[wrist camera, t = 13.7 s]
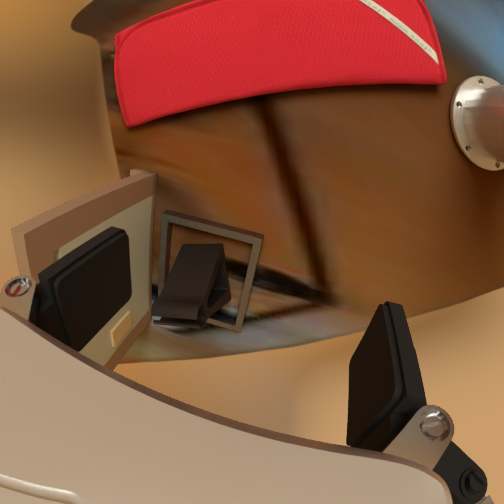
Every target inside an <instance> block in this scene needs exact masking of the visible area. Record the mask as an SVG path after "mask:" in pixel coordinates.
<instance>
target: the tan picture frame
mask: <svg viewBox="0 0 504 504" xmlns="http://www.w3.org/2000/svg"><path fill="white" fill-rule="evenodd" d="M157 178H158V173H156V172H150V171H145V170H140V169H131V170H130V176H129V177H127V178H124V179H121V180H119V181H116V182H114V183H111V184H108V185H106V186H103V187H101V188H98V189H96V190H94V191H91V192H89V193H86V194H84V195H81V196H79V197H77V198H75V199H72V200H70V201H68V202H65V203H63V204H61V205H59V206H56V207H55V208H52V209H50V210H48V211H46V212H44V213H42V214H40V215H38V216H36V217H34V218H32V219H30V220H28V221H26V222H24V223H22V224H20V225H18V226H16V227H14V228H12V229H11V231H12V236H13V243H14V248H15V254H16V259H17V264H18V268H19V273H20V276H22V275H27V276H31V277H32V278H34V279H35V281H36V285H37V284H38V283H39V278H38V273H40V272H41V271H43V270H44V269H46V268H47V267H48V266H50V265H51V264H53V263H54V262H56V261H57V260H59V259H60V258H62V257H63V256H65V255H66V254H68V253H69V252H71V251H72V250H74V249H75V248H77V247H78V246H80V245H81V244H83V243H85V242H86V241H88V240H89V239H91V238H93V237H94V236H96V235H97V234H99V233H101V232H102V231H104V230H106V229H107V228H109V227H111V226H113V227H117V228H120V229H124V230H125V231H126V234H127V235H128V236H129V250H130V269H131V283H132V296H131V298H130V300H129V301H128V302H127V303H126V304H125V305H124V306H123V307H122V308H121V309H120V310H119V311H118V312H117V313H116V314H115V315H114V316H113V317H112V318H111V319H110V321H109V322H108V323H107V324H106V325H105V326H104V327H103V328H102V329H101V330H100V331H99V332H98V333H97V334H96V335H95V336H94V337H93V338H92V340H91V341H90V342H89V343H88V344H87V345H86V346H85V347H84V348H83V349H82V350H81V351H80V352H79V353H80V354H82V355H84V356H86V357H88V358H89V359H91V360H93V361H95V362H97V363H98V364H100V365H102V366H104V367H106V368H108V369H110V370H112V371H113V370H114V368H115V367H116V366H117V364H118V363H119V362H120V360H121V359H122V358H123V356H124V355H125V354H126V352H127V351H128V350H129V348H130V347H131V346H132V344H133V343H134V342H135V340H136V339H137V338H138V336H139V335H140V334H141V333H142V331H143V330H144V329H145V327H146V326H147V325H148V323H149V322H150V321H151V320H152V316H151V308H152V248H153V228H154V212H155V199H156V188H157Z"/></svg>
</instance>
